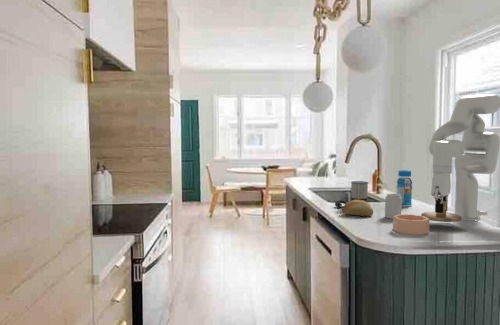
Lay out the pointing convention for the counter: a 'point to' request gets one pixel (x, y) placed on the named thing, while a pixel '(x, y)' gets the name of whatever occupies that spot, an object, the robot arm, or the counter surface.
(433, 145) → the robot arm
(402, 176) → the beverage bottle
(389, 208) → the can
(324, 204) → the counter surface
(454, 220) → the lid
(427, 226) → the bowl
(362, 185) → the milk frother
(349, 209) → the bread roll
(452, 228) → the mat
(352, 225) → the counter surface
